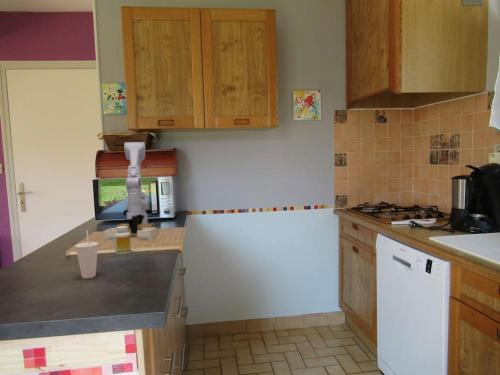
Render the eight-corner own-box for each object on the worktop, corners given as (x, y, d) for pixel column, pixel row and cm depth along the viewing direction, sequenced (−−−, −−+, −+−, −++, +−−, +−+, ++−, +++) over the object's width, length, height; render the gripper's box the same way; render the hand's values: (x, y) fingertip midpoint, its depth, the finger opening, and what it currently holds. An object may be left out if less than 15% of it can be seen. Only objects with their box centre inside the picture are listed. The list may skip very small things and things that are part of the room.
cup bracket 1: (111, 236, 159) (111, 228, 158) (124, 236, 158) (123, 227, 158) (104, 240, 152) (103, 231, 151) (117, 240, 151) (116, 231, 151)
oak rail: (121, 234, 164) (120, 223, 163) (154, 234, 163) (154, 223, 162) (117, 236, 160) (116, 225, 159) (151, 235, 159) (151, 224, 158)
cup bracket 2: (143, 236, 158) (143, 227, 158) (156, 236, 158) (155, 227, 157) (137, 239, 151) (137, 230, 151) (150, 239, 151) (150, 230, 150)
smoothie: (85, 281, 99) (82, 232, 97) (72, 277, 102) (69, 230, 101) (105, 275, 104) (102, 228, 103) (92, 271, 107) (89, 227, 106)
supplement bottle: (133, 252, 130) (132, 226, 129) (119, 255, 126) (118, 228, 125) (126, 250, 134) (125, 225, 133) (113, 252, 130) (111, 227, 129)
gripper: (132, 201, 167) (133, 229, 168) (119, 205, 153) (121, 235, 154) (146, 201, 167) (147, 228, 168) (135, 204, 153) (136, 235, 154)
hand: (136, 232), depth 161 cm, fingers closed on oak rail, 4 cm apart
